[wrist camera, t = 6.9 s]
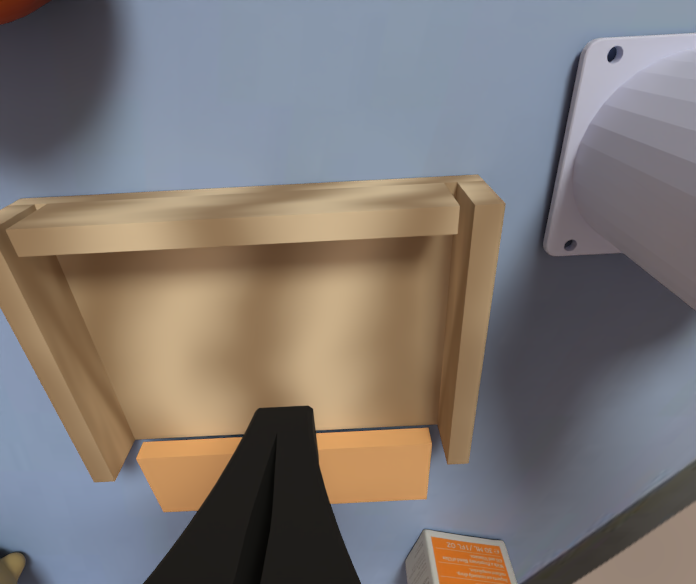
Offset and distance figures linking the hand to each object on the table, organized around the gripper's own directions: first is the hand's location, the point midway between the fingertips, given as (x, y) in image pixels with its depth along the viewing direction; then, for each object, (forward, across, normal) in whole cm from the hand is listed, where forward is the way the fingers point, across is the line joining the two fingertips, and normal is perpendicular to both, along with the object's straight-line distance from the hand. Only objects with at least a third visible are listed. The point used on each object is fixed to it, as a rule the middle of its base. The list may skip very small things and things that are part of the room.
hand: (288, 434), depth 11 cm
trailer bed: (+9, +2, +3) cm, 10 cm away
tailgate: (+8, +2, +10) cm, 13 cm away
